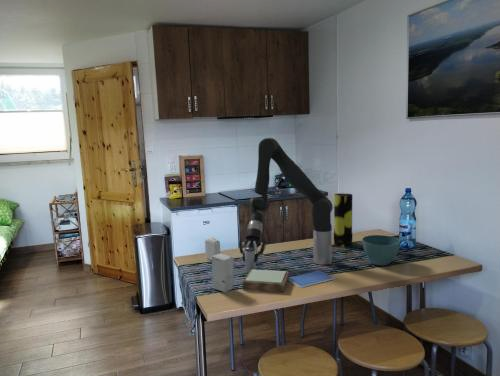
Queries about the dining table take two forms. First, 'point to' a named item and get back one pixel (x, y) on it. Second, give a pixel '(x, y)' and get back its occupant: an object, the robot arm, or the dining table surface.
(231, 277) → the skincare box
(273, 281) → the plinth
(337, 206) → the container
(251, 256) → the ceramic jar
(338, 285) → the dining table surface
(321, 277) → the blue notebook
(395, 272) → the dining table surface
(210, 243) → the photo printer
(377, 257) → the plant pot
